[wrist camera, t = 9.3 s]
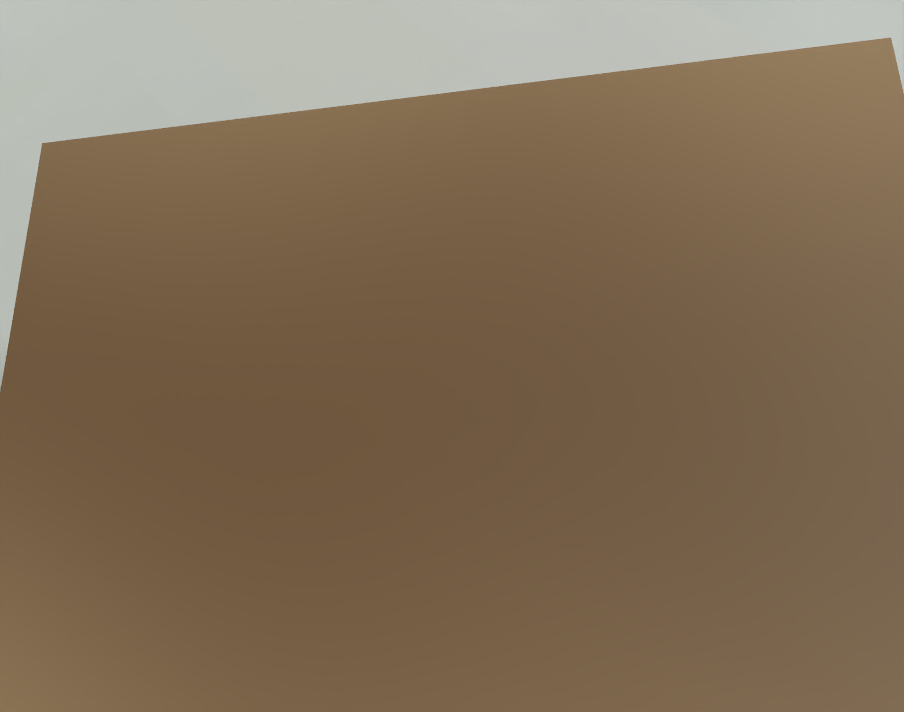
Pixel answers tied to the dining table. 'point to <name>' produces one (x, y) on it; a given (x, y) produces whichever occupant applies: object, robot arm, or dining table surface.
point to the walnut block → (469, 403)
